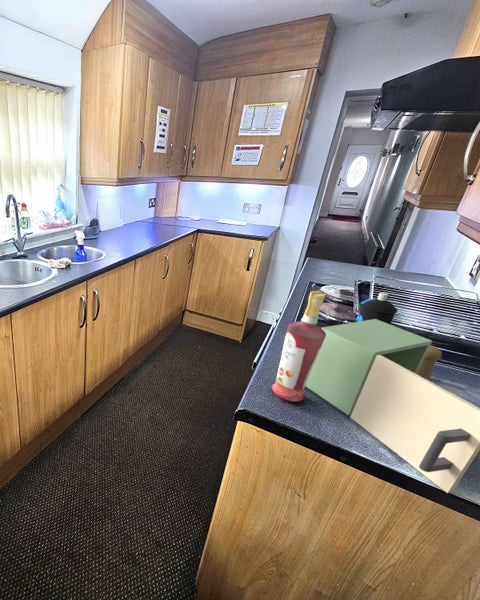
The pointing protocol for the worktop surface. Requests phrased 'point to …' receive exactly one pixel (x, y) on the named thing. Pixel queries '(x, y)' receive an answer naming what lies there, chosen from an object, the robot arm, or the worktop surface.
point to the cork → (429, 362)
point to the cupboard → (360, 358)
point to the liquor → (300, 352)
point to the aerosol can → (377, 309)
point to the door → (419, 422)
